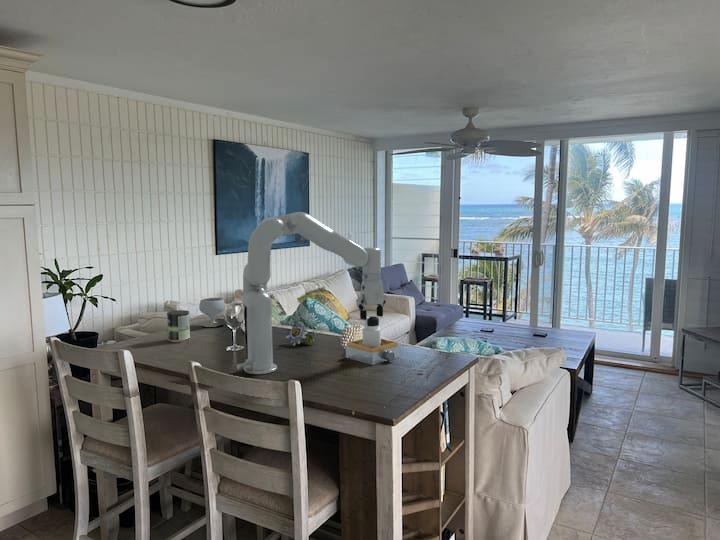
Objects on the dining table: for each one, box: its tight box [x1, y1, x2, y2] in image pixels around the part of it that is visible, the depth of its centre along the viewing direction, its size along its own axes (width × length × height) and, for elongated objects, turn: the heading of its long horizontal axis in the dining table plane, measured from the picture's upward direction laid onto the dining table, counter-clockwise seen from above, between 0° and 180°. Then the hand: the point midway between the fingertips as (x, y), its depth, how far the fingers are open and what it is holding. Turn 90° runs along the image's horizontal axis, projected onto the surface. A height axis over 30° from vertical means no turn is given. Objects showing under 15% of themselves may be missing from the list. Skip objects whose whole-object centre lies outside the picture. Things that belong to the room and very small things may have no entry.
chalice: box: [198, 297, 226, 324], centre depth 282 cm, size 14×14×15 cm
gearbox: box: [345, 338, 400, 366], centre depth 214 cm, size 16×19×6 cm
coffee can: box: [166, 309, 191, 340], centre depth 249 cm, size 10×10×14 cm
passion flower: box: [285, 322, 316, 347], centre depth 239 cm, size 11×11×12 cm
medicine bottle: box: [362, 316, 382, 347], centre depth 214 cm, size 7×7×12 cm
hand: (371, 317), depth 213 cm, fingers open, 9 cm apart
